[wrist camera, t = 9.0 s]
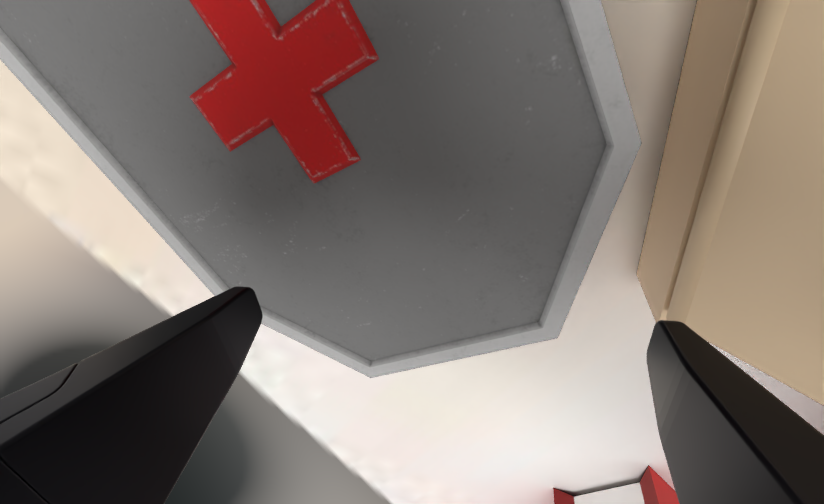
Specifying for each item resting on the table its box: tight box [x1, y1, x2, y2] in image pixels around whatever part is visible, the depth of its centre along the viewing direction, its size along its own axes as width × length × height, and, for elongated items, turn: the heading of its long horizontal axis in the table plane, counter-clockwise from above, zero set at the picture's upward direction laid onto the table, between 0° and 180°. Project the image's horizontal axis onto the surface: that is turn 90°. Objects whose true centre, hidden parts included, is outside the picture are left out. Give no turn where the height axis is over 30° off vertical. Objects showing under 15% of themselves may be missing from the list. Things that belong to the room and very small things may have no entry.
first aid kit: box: [0, 0, 642, 378], centre depth 15 cm, size 18×8×25 cm
